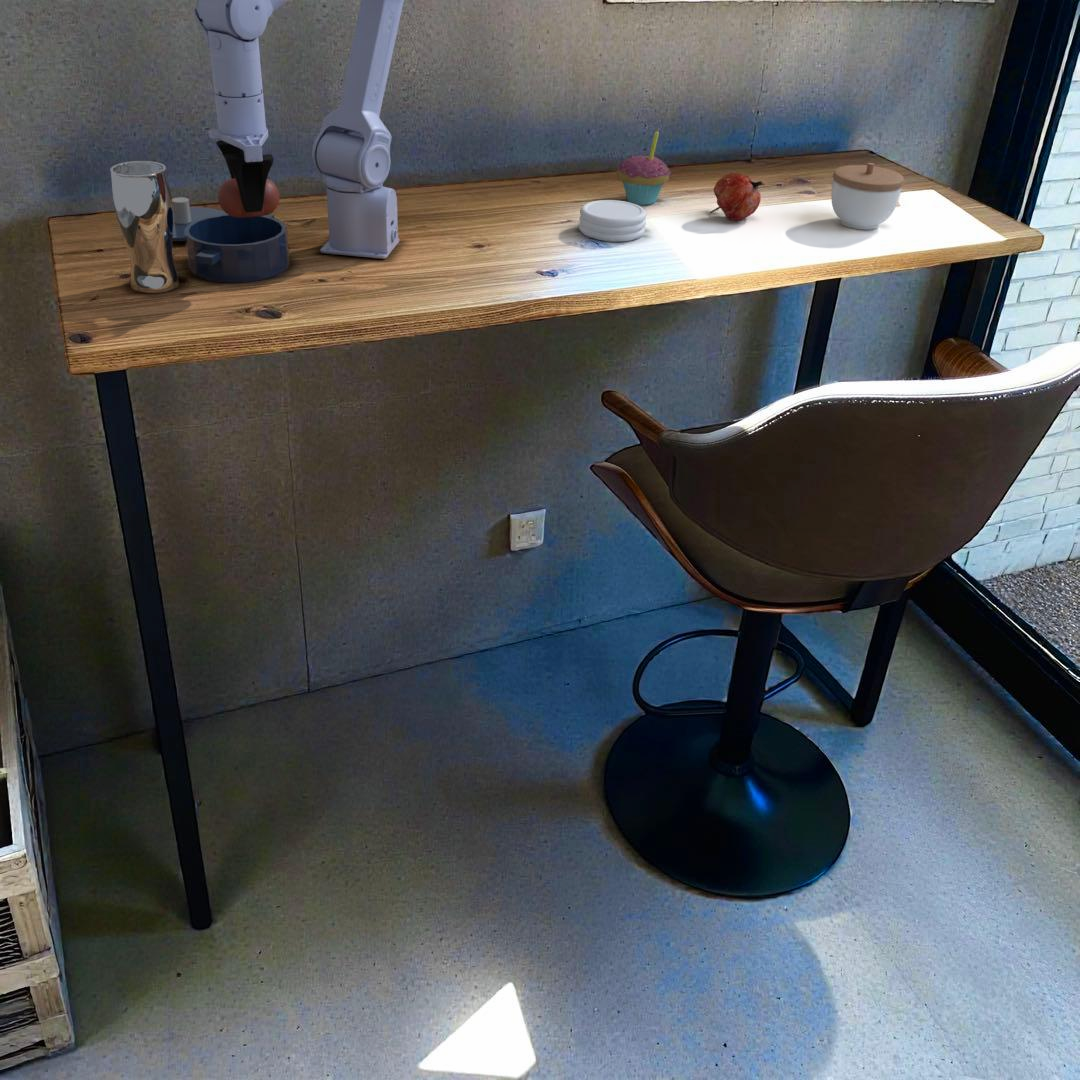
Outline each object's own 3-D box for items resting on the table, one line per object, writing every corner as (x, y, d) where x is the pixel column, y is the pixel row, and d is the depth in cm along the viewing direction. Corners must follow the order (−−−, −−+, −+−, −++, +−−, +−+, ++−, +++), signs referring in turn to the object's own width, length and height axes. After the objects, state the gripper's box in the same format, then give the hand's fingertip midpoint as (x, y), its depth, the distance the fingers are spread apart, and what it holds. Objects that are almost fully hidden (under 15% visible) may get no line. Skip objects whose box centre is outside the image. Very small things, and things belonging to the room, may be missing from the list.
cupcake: (675, 199, 191) (683, 124, 185) (651, 212, 185) (659, 134, 179) (630, 189, 195) (636, 115, 189) (604, 201, 189) (610, 125, 182)
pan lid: (250, 220, 174) (247, 191, 172) (205, 250, 163) (201, 220, 160) (163, 209, 177) (159, 180, 174) (113, 238, 165) (108, 208, 163)
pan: (312, 249, 165) (309, 214, 162) (254, 295, 150) (250, 257, 147) (226, 238, 167) (222, 203, 164) (160, 282, 152) (155, 245, 149)
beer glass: (133, 275, 154) (115, 159, 145) (187, 275, 154) (172, 160, 146) (122, 294, 148) (102, 175, 140) (178, 295, 148) (162, 176, 140)
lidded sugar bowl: (842, 235, 179) (853, 174, 174) (814, 213, 188) (824, 154, 183) (905, 233, 182) (919, 173, 176) (875, 212, 190) (887, 153, 185)
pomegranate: (706, 235, 184) (756, 208, 177) (689, 191, 183) (739, 162, 176) (730, 230, 189) (781, 203, 182) (714, 187, 189) (764, 159, 182)
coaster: (565, 230, 176) (566, 207, 174) (607, 217, 182) (609, 194, 180) (616, 247, 171) (617, 224, 169) (657, 233, 177) (660, 210, 175)
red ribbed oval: (277, 207, 151) (273, 170, 149) (284, 219, 148) (281, 181, 145) (217, 212, 149) (213, 174, 146) (223, 224, 145) (219, 185, 142)
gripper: (196, 80, 144) (208, 190, 152) (213, 108, 133) (226, 225, 141) (253, 78, 147) (263, 186, 154) (275, 105, 135) (285, 220, 143)
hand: (249, 204), depth 147 cm, fingers closed on red ribbed oval, 5 cm apart
